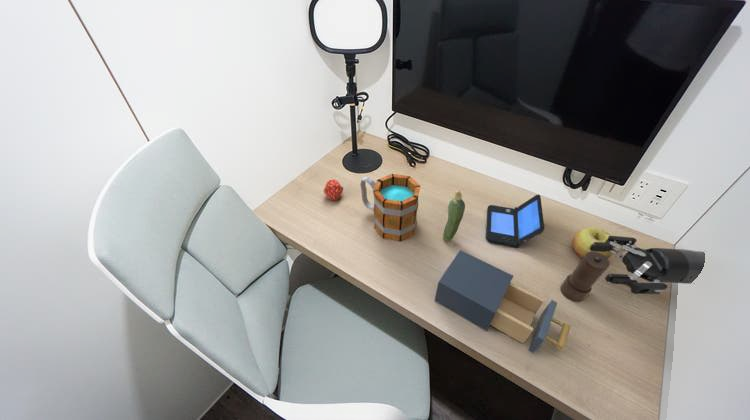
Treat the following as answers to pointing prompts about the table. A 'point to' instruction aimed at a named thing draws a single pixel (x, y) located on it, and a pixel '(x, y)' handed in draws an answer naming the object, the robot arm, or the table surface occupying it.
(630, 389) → the table surface
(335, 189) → the red bumpy fruit
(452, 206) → the vegetable
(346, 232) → the table surface
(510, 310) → the drawer
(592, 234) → the apple
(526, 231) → the game console
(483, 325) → the cabinet
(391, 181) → the mug
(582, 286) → the pepper mill
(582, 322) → the table surface
